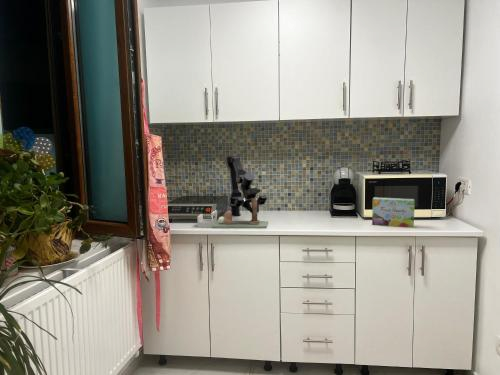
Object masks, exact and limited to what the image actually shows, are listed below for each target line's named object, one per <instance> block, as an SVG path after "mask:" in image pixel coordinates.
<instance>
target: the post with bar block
mask: <svg viewBox="0 0 500 375" xmlns="http://www.w3.org/2000/svg"><path fill="white" fill-rule="evenodd" d="M257 198H258V197H255V198H251V203H250V204H251V208H252V210H253V213H251V219H250V220H233V216H232V212H231V211H226V212H225V214H224V216H225V217H224V218H225V223H226V224H231V223H250V224H259V221H260V219H258V213H257Z"/></svg>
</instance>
